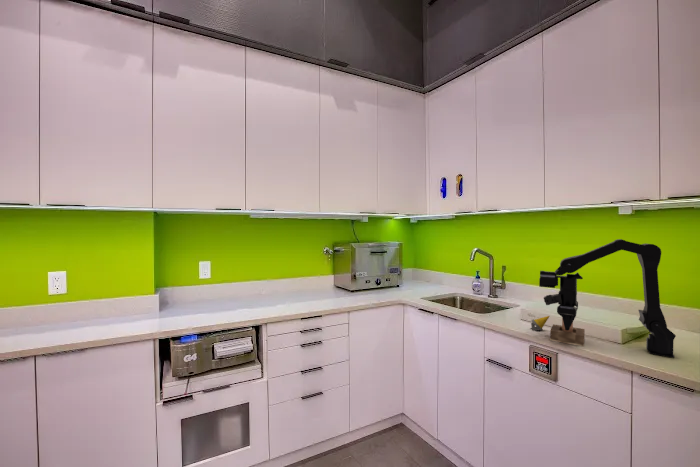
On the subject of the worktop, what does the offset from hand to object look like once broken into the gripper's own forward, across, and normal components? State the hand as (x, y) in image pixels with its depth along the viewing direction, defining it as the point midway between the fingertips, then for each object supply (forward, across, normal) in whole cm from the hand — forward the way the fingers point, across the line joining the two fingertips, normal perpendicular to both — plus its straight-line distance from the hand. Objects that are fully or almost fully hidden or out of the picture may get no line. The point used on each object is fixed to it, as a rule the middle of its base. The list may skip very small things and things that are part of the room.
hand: (567, 327), depth 133 cm
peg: (+4, 0, 0) cm, 4 cm away
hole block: (+5, 0, 0) cm, 5 cm away
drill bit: (+5, -8, -11) cm, 15 cm away
